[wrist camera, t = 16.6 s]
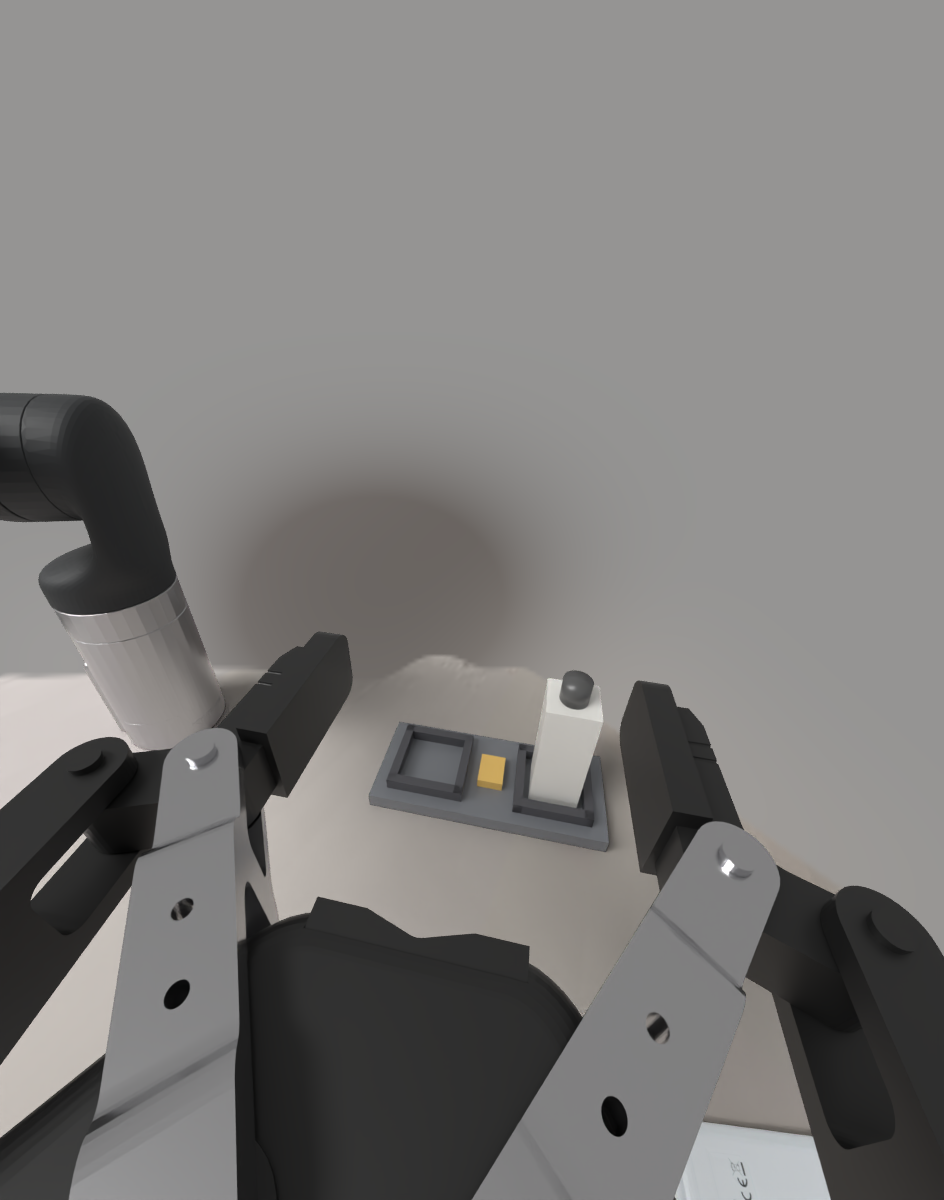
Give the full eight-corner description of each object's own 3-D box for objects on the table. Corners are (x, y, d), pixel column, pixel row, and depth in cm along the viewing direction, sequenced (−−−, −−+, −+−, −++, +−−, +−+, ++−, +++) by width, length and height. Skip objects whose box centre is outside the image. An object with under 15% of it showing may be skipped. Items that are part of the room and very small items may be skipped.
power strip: (370, 804, 39) (367, 787, 38) (400, 730, 47) (398, 714, 45) (605, 852, 37) (612, 835, 35) (597, 765, 44) (602, 749, 43)
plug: (528, 801, 39) (549, 693, 31) (530, 764, 42) (551, 660, 35) (575, 810, 38) (609, 703, 31) (574, 773, 42) (604, 668, 34)
